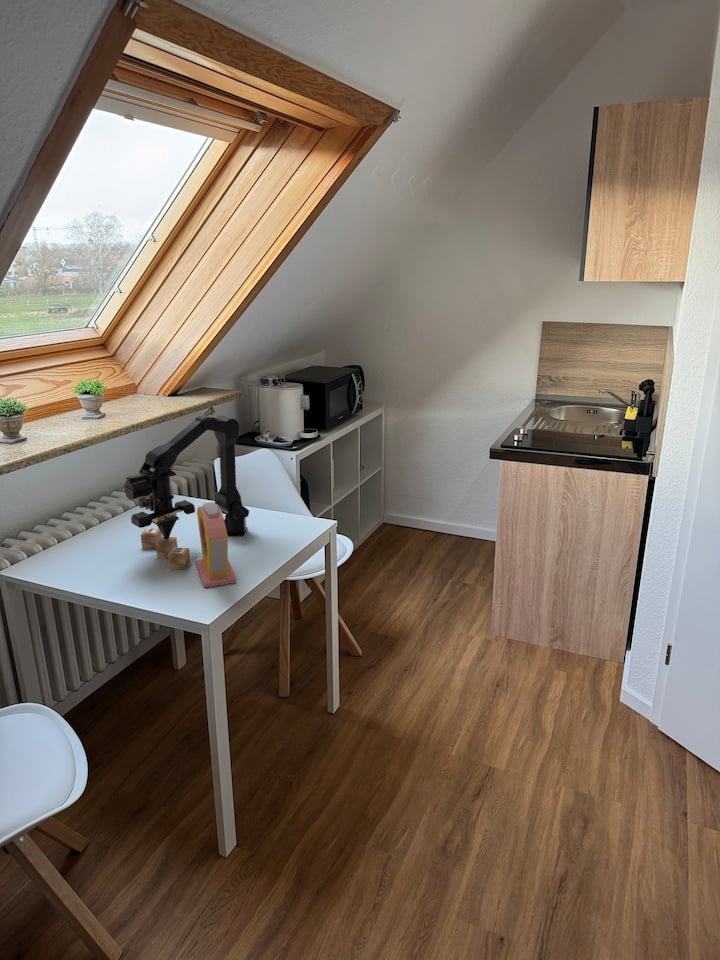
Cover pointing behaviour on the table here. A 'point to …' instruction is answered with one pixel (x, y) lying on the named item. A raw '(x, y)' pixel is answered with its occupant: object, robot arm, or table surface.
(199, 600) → the table surface
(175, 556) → the numbered block
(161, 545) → the plain block
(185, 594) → the table surface
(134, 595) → the table surface
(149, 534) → the numbered block
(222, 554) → the pink yellow upright block
